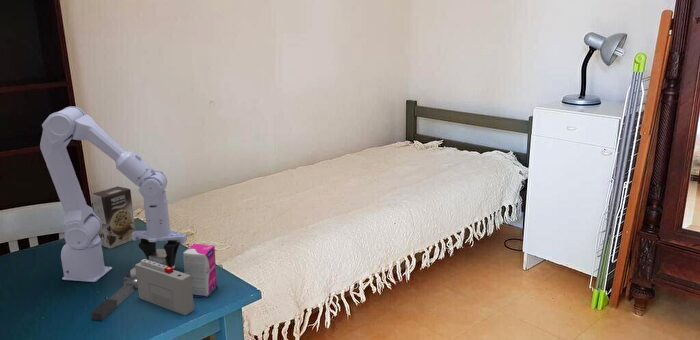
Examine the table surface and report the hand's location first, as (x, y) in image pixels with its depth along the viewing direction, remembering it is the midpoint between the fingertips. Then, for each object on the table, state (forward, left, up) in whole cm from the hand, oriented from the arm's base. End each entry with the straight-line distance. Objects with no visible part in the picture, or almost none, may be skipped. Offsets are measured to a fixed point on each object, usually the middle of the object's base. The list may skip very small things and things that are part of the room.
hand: (162, 265), depth 145 cm
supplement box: (+15, -9, -2) cm, 18 cm away
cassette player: (+9, -16, -2) cm, 18 cm away
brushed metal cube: (0, 0, -1) cm, 1 cm away
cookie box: (-23, +16, -2) cm, 28 cm away
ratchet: (-3, -15, -2) cm, 15 cm away
